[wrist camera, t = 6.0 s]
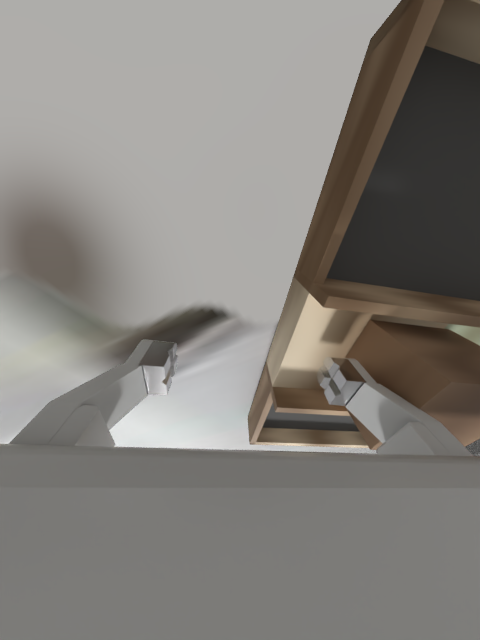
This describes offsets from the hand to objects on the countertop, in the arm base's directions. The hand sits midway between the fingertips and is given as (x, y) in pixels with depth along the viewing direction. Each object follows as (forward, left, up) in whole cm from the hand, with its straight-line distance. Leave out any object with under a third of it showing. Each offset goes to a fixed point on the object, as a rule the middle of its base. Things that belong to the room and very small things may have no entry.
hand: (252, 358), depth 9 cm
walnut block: (-8, 0, -1) cm, 9 cm away
